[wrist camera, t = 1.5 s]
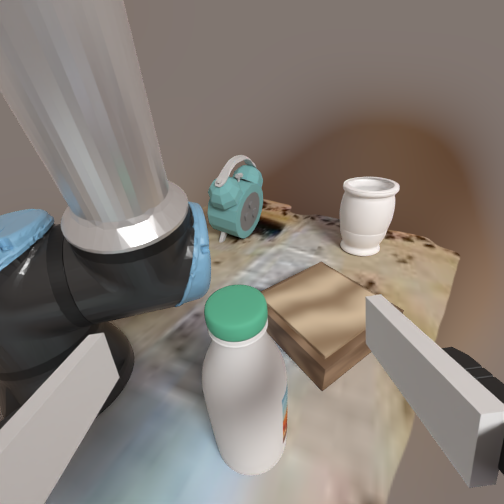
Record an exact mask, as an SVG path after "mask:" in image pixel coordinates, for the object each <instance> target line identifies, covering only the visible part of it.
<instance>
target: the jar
mask: <svg viewBox="0 0 504 504" xmlns="http://www.w3.org/2000/svg"><path fill="white" fill-rule="evenodd" d="M399 188H400V185H399V184H398V183H397V182H395V181H392V180H389V179H384V178H378V177H358V178H352V179H349V180H347V181H345V182H344V185H343V189H344V190H345V193H344V195H343V198H342V202H341V206H340V232H341V236H342V238H343V240H342V241H341V243H340V246H341V248H342V249H343V250H344V251H346V252H347V253H350V254H353V255H357V256H370V255H374V254H376V253H377V252H378V251H379V250H380V246H379V243H380V242H381V241H382V240H383V238H384V236H385V234H386V232H387V229H388V227H389V225H390V223H391V220H392V217H393V213H394V208H395V194H396V193H397V192H398V191H399Z"/></svg>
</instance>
